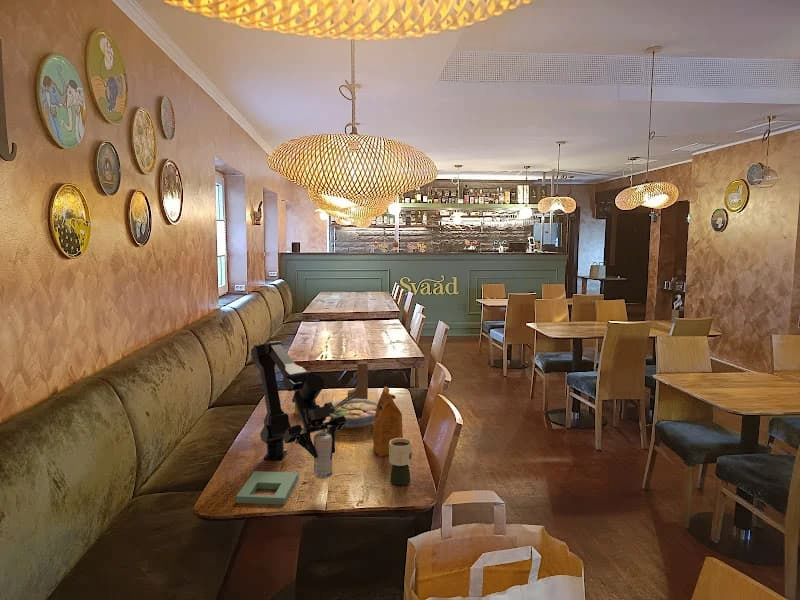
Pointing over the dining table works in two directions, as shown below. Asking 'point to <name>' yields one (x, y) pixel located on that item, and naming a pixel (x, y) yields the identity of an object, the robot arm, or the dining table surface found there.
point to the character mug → (400, 460)
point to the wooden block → (361, 382)
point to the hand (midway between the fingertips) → (325, 455)
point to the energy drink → (323, 455)
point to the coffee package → (386, 423)
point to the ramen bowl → (355, 411)
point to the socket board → (268, 487)
